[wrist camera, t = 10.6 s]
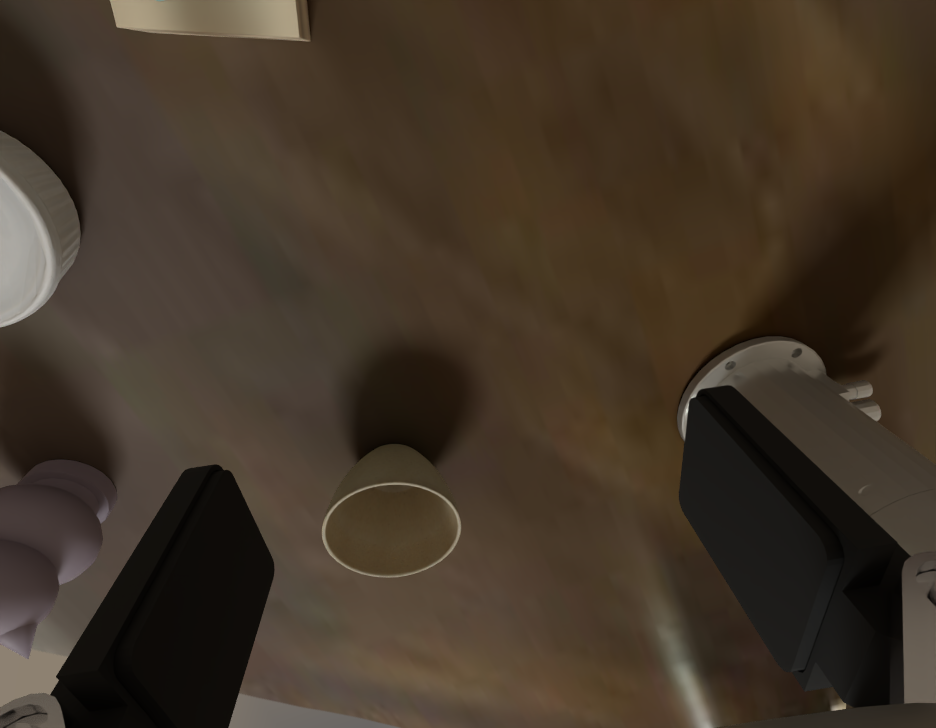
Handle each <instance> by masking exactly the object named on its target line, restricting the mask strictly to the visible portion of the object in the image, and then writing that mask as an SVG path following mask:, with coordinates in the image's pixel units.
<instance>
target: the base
mask: <svg viewBox="0 0 936 728" xmlns="http://www.w3.org/2000/svg"><path fill="white" fill-rule="evenodd" d="M110 2H111V6H112V10H113V14H114V17H115V21H116V25H117V27H119V28H125V29H131V30H138V31H144V32H150V33H166V34H184V35H202V36H220V37H238V38H257V39H275V40H293V41H311V37H310V27H309V17H308V6H307V0H164V1H160V2H159V1H156V0H110Z"/></svg>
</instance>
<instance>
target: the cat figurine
mask: <svg viewBox="0 0 936 728" xmlns="http://www.w3.org/2000/svg"><path fill="white" fill-rule="evenodd" d="M116 500H117V491H116V488H115V487H114V485H113V483H112V481H111V480H110V479H109V478H108V477H107V476H106V475H105V474H104V473H102V472H101V471H99V470H97V469H95V468H94V467H92V466H90V465H87V464H84V463H81V462H78V461H72V460H63V459H58V460H49V461H45V462H42V463H40V464H37V465H35V466H34V467H33V468H32V469H31V470H30V471H29V472H28V473H27V474H26V475H25V476H24V477H23V478H22V479H21V480H20V481H19V483H18V484H17V485H11V486H6V487H3V488H0V644H1V645H3V646H5V647H7V648H9V649H10V650H12V651H14V652H16V653H18V654H19V655H21V656H23V657H25V658H27V659H29V655H30V651H31V647H32V643H33V640H34V636H35V632H36V628H37V625H38V624H39V623H40V622H41V621H42V620H44V619H45V618H46V616H47V615H48V614H49V613H50V611H51V609H52V608H53V606H54V603H55V600H56V597H57V594H58V591H59V585H60V584H63V583H66V582H68V581H71V580H73V579H74V578H76V577H78V576H79V575H80V574H81V573H82V572H84V571H85V570H86V569H87V568H88V567H89V566H91V565H92V563H93V562H94V561H95V560H96V557H97V555H98V553H99V550H100V548H101V545H102V540H103V536H102V530H101V523H102V522H103V521H104V520H105V519H106V518H107V516H108V515H109V513H110V512H111V510H112V509H113V507H114V505H115V503H116Z"/></svg>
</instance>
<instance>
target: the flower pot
mask: <svg viewBox="0 0 936 728" xmlns="http://www.w3.org/2000/svg"><path fill="white" fill-rule="evenodd" d="M460 533H461V521H460V517H459V513H458V510H457V506H456V504H455V501H454V499H453V496H452V494H451V492H450V490H449V488H448V486H447V484H446V483H445V481H444V479H443V478H442V476H441V475H440V473H439V472H438V471H437V470H436V468H435V467H434V466H433V465H432V464H431V463H430V462H429V461H428V460H427V459H426V458H425V457H424V456H423V455H421V454H420V453H419V452H417V451H416V450H414V449H413V448H411V447H408V446H406V445H401V444H387V445H383V446H380V447H378V448H376V449H374V450H373V451H371V452H370V453H368V454H367V455H366V456H364V457H363V458H362V459H361V460H360V461H359V462H358V463H357V464H356V465H355V466H354V467H353V468H352V469H351V470H350V471H349V473H348V474H347V475H346V476H345V478H344V479H343V481H342V482H341V484H340V485H339V487H338V489H337V490H336V492H335V494H334V496H333V498H332V500H331V502H330V505H329V507H328V509H327V512H326V515H325V518H324V522H323V526H322V539H323V542H324V545H325V547H326V549H327V551H328V552H329V554H330V555H331V556H332V557H333V558H334V559H335V560H336V561H338V562H339V563H340V564H342V565H343V566H345V567H346V568H348V569H350V570H352V571H355V572H358V573H361V574H365V575H369V576H376V577H400V576H406V575H411V574H414V573H418V572H420V571H423V570H426V569H428V568H430V567H432V566H434V565H435V564H437V563H439V562H440V561H441V560H443V559H444V558H445V557H446V556H447V555H448V554H449V553H450V552H451V551H452V550H453V548H454V547H455V545H456V543H457V542H458V539H459V536H460Z"/></svg>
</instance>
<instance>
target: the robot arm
mask: <svg viewBox="0 0 936 728" xmlns="http://www.w3.org/2000/svg"><path fill="white" fill-rule="evenodd" d="M872 391H873V389H872V386H871V384H870V383H869V382H868V381H865V380H862V381H857V382H852V383H847V384H845V385H840V384H838V383H837V382H835V381H834V380H832V379H831V378H829V377H828V376H827V375H826V368H825V366H824V364H823V361H822V359H821V358H820V357H819V356H818V354H817V353H816V352H815V351H814V350H812V349H811V348H809V347H808V346H807V345H805V344H804V343H802V342H799V341H797V340H795V339H793V338H787V337H782V336H766V337H761V338H756V339H751V340H749V341H746V342H743V343H740V344H737V345H735V346H734V347H732V348H730V349H728V350H726V351H724V352H722V353H721V354H720V355H718V356H717V357H715V358H714V359H713V360H711V361H710V362H709V363H708V364H707V365H706V366H705V367H703V368H702V369H701V370H700V371H699V372H698V374H697V375H696V376H695V377H694V379H693V380H692V381H691V382H690V384H689V385H688V387H687V389H686V391H685V392H684V394H683V396H682V399H681V402H680V405H679V409H678V415H677V422H678V429H679V432H680V435H681V437H682V439H683V440H684V442H685V443H684V452H683V462H682V471H681V480H680V489H679V501H680V505H681V508H682V511H683V512H684V514H685V516H686V518H687V519H688V521H689V522H690V524H691V526H692V527H693V529H694V530H695V532H696V534H697V535H698V537H699V538H700V540H701V542H702V543H703V545H704V546H705V548H706V550H707V551H708V553H709V555H710V556H711V558H712V559H713V561H714V563H715V564H716V566H717V567H718V569H719V571H720V572H721V574H722V575H723V577H724V579H725V580H726V582H727V583H728V585H729V587H730V588H731V590H732V591H733V593H734V595H735V596H736V598H737V600H738V601H739V603H740V604H741V606H742V608H743V609H744V611H745V612H746V614H747V616H748V617H749V619H750V620H751V622H752V624H753V625H754V627H755V628H756V630H757V632H758V633H759V635H760V636H761V638H762V640H763V641H764V643H765V645H766V646H767V648H768V649H769V651H770V653H771V654H772V656H773V657H774V659H775V661H776V662H777V663H778V665H779V666H780V667H781V668H782V669H783V670H784V671H786V672H792V673H793V674H794V676H795V677H796V679H797V681H798V682H799V684H800V685H801V687H802V688H803V690H804V691H810V690H816V689H822V688H828V687H834V689H835V690H836V692H837V693H838V695H839V696H840V698H841V699H842V701H843V702H844V703H846V709H843V710H836V711H829V712H821V713H814V714H807V715H799V716H792V717H785V718H778V719H770V720H763V721H756V722H749V723H743V724H736V725H730V726H724V727H717V728H936V464H934V463H933V462H931V461H930V460H929V459H927V458H926V457H925V456H923V455H922V454H920V453H919V452H918V451H916V450H915V449H914V448H912V447H911V446H909V445H908V444H907V443H905V442H904V441H903V440H901V439H900V438H898V437H897V436H896V435H894V434H893V433H892V432H890V431H889V430H887V429H886V428H885V427H883V426H882V425H881V424H879V423H878V422H876V421H878V420H879V419H880V417H881V410H880V408H879V405H878V404H877V403H876V402H875V401H873V400H870V399H867V400H862V401H856V402H851V403H850V402H849V399H858V398H863V397H868V396H871V394H872ZM273 577H274V562H273V559H272V556H271V554H270V552H269V550H268V548H267V546H266V544H265V541H264V539H263V537H262V535H261V533H260V531H259V529H258V527H257V525H256V523H255V520H254V518H253V516H252V514H251V512H250V510H249V508H248V506H247V504H246V501H245V499H244V497H243V495H242V493H241V491H240V489H239V487H238V485H237V483H236V480H235V478H234V476H233V474H232V473H231V472H230V471H229V470H223V469H222V467H221V466H219V465H208V466H202V467H196V468H189V469H187V470H185V471H184V472H183V473H182V474H181V476H180V478H179V479H178V481H177V482H176V484H175V486H174V487H173V489H172V491H171V492H170V494H169V495H168V497H167V499H166V500H165V502H164V503H163V505H162V507H161V508H160V510H159V511H158V513H157V515H156V516H155V518H154V520H153V521H152V523H151V524H150V526H149V528H148V529H147V531H146V532H145V534H144V536H143V537H142V539H141V540H140V542H139V544H138V545H137V547H136V549H135V550H134V552H133V553H132V555H131V557H130V558H129V560H128V561H127V563H126V565H125V566H124V568H123V569H122V571H121V573H120V574H119V576H118V578H117V579H116V581H115V582H114V584H113V586H112V587H111V589H110V590H109V592H108V594H107V595H106V597H105V599H104V600H103V602H102V603H101V605H100V607H99V608H98V610H97V611H96V613H95V615H94V616H93V618H92V619H91V621H90V623H89V624H88V626H87V628H86V629H85V631H84V632H83V634H82V636H81V637H80V639H79V640H78V642H77V644H76V645H75V647H74V648H73V650H72V652H71V653H70V655H69V657H68V658H67V660H66V662H65V663H64V665H63V666H62V668H61V670H60V671H59V673H58V674H57V676H56V677H57V678H58V679H59V681H58V683H57V685H56V686H55V688H54V690H53V691H52V693H51V694H50V695H48V694H46V693H40V694H30V695H27V696H24V697H21V698H18V699H15V700H13V701H11V702H9V703H7V704H5V705H4V706H2V707H0V728H228V727H229V724H230V720H231V717H232V714H233V710H234V707H235V704H236V700H237V697H238V694H239V690H240V687H241V684H242V680H243V677H244V674H245V670H246V667H247V664H248V660H249V657H250V654H251V651H252V647H253V644H254V641H255V637H256V634H257V631H258V627H259V624H260V621H261V617H262V614H263V611H264V607H265V604H266V601H267V597H268V594H269V591H270V587H271V584H272V581H273Z"/></svg>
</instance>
